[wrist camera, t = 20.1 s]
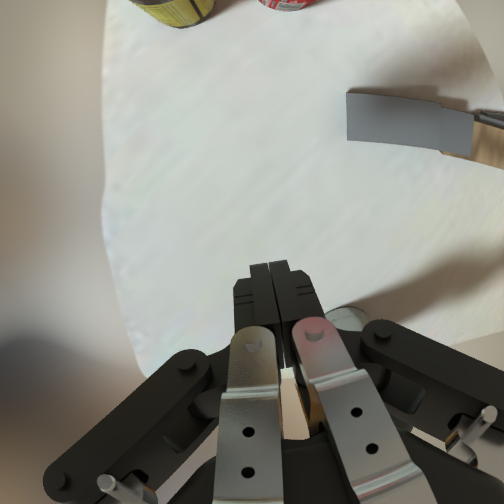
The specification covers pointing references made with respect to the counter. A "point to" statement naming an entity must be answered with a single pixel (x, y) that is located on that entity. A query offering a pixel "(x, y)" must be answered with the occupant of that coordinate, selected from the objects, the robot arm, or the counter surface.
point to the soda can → (286, 4)
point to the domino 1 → (393, 120)
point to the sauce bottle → (177, 11)
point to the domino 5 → (489, 121)
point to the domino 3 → (485, 146)
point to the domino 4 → (494, 115)
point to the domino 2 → (456, 131)
